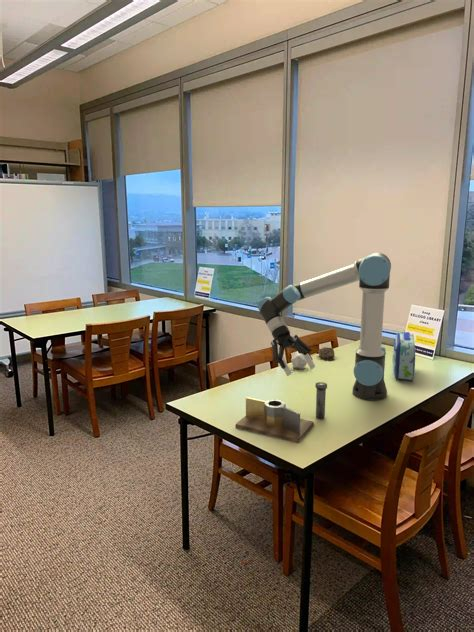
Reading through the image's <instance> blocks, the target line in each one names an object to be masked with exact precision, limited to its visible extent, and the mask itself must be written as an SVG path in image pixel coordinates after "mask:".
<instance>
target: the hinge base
mask: <svg viewBox="0 0 474 632" xmlns="http://www.w3.org/2000/svg"><path fill="white" fill-rule="evenodd" d="M314 422H315V421H312V420H307V419H303V418H300V434H297V433H294V432H292V431H290V430H288V429H286V428H284V427H270V426H267V425H266V424H265V423H264V421H263V420H258V419H254V418H250V417H246V415H245V416H243V417H242V418H241V419H240V420H238V421H237V422H236V423H235V428H236V429H241V430H245V431H248V432H252V433H256V434H261V435H265V436H269V437H273V438H276V439H281V440H285V441H289V442H293V443H297V444H299V443H300V442H301V441H302V440H303V439H304V437H305V436H306V435H307V434H308V432H309V431H310V430H311V429H312V428H313V426H315V425H314V424H315V423H314Z"/></svg>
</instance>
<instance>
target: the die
mask: <svg viewBox="0 0 474 632" xmlns="http://www.w3.org/2000/svg"><path fill="white" fill-rule="evenodd" d="M304 356H305V355H303V354H302V353H300V352H295V353H294V354H293V355H292V356H291V357H292V358H291V359H290V362H291V365H292V367H293V369H299V370H304V369H305V367H306V366H307V365H308V363H307V362H306V360H305V358H304Z"/></svg>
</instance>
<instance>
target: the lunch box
mask: <svg viewBox="0 0 474 632" xmlns="http://www.w3.org/2000/svg"><path fill="white" fill-rule="evenodd" d="M415 344H416V343H415V337H414V334H413V333H410V331H405V332H400V333H399V332H397V333H396V335H395V339H393V351H392V353H393V354H392V373H393V376H394V378H395V379H396V380H398V379H399V380H407V381H413V380H414V378H415V371H416V348H415V347H416V345H415Z"/></svg>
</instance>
